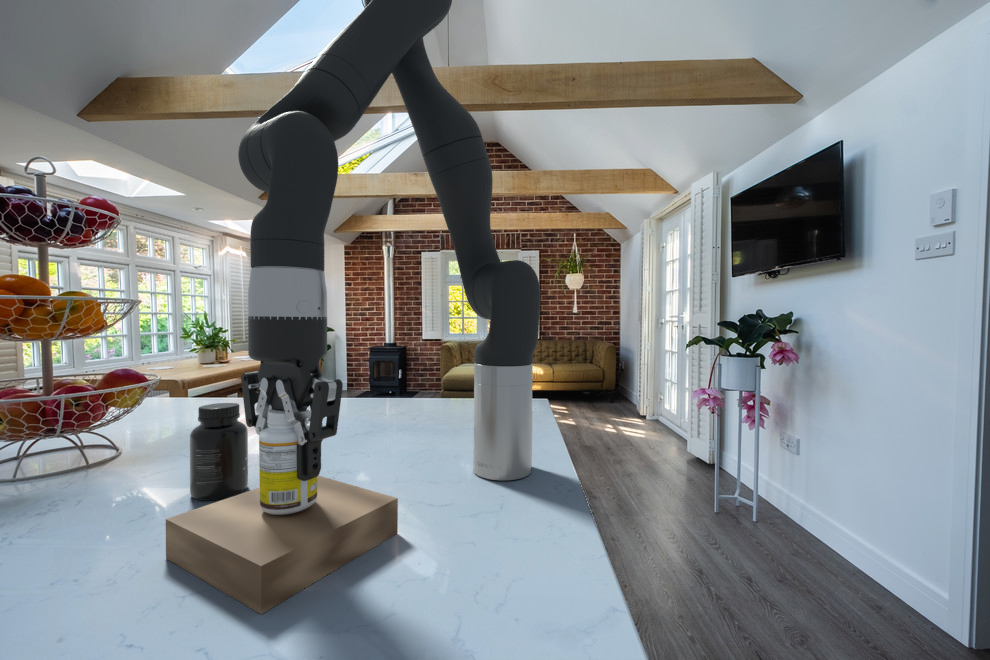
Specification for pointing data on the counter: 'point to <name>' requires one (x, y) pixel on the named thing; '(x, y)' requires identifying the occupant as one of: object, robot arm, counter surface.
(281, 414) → the supplement bottle
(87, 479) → the counter surface
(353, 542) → the walnut block
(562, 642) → the counter surface
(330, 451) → the counter surface
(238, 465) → the supplement bottle
